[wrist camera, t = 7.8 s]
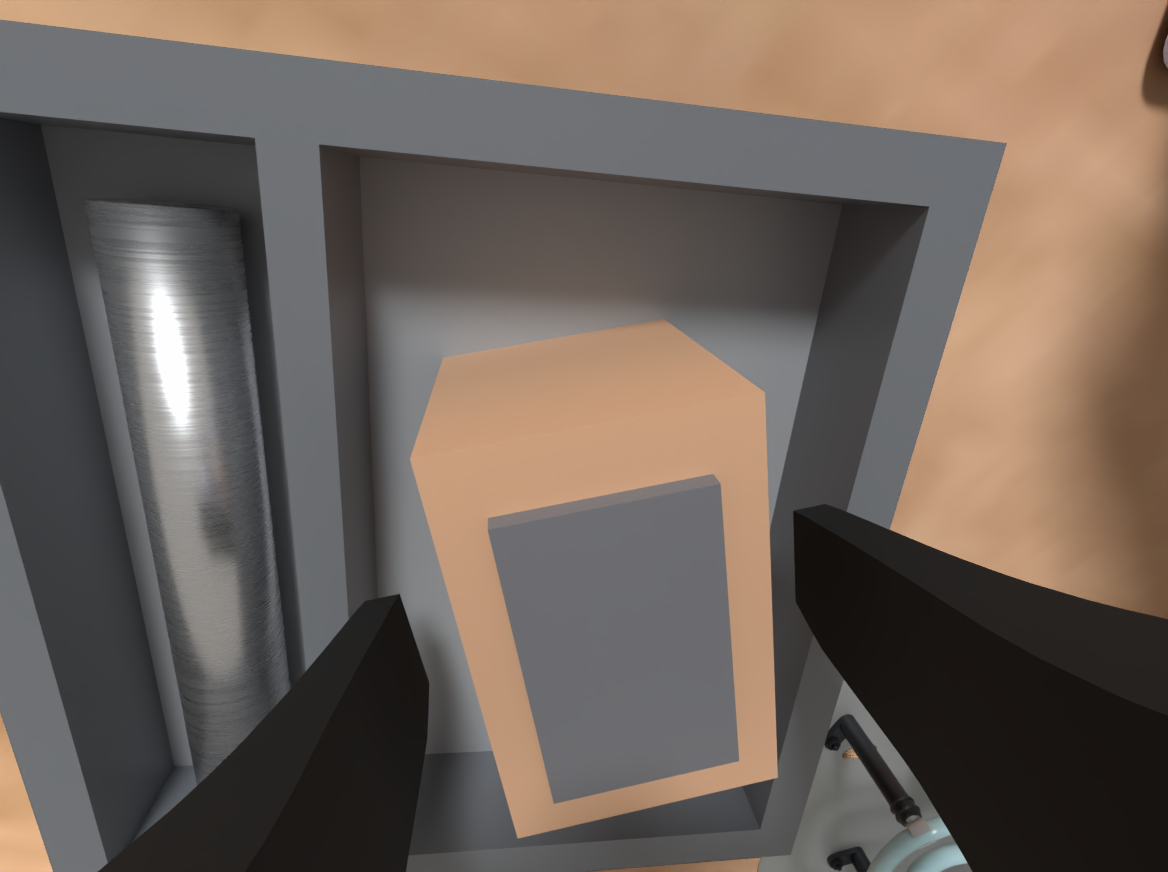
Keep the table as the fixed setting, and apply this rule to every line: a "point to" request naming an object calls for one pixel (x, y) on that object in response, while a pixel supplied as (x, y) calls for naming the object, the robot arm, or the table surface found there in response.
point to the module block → (607, 567)
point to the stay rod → (197, 455)
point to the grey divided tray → (429, 379)
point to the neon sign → (866, 808)
